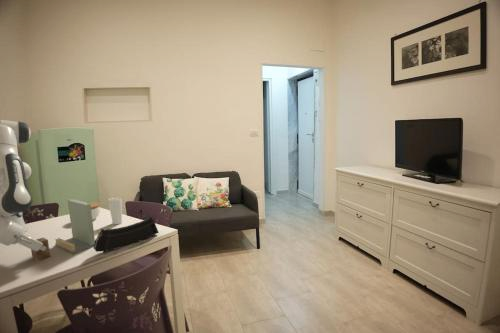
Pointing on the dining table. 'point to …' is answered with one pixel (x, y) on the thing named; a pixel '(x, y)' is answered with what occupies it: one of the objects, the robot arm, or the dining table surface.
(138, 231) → the magazine
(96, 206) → the lidded bowl
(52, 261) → the dining table surface
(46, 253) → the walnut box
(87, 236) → the wall board
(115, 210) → the drinking glass
